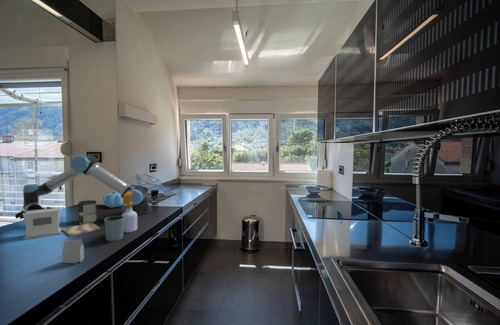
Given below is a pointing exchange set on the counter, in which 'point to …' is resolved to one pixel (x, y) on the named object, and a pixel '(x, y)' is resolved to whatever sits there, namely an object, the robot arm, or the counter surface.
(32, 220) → the label unit
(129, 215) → the spray bottle
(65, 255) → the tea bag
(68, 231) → the pad
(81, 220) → the coffee can
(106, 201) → the decorative pot
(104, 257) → the counter surface
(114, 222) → the green tapered cup
